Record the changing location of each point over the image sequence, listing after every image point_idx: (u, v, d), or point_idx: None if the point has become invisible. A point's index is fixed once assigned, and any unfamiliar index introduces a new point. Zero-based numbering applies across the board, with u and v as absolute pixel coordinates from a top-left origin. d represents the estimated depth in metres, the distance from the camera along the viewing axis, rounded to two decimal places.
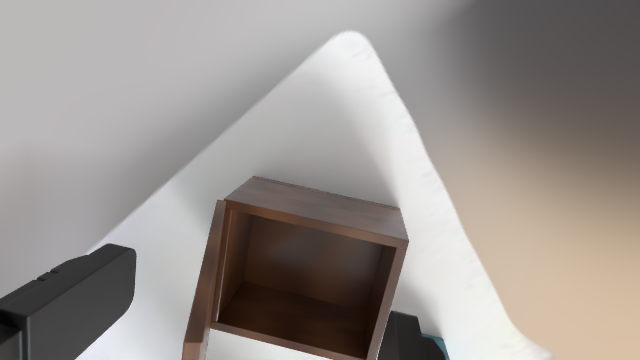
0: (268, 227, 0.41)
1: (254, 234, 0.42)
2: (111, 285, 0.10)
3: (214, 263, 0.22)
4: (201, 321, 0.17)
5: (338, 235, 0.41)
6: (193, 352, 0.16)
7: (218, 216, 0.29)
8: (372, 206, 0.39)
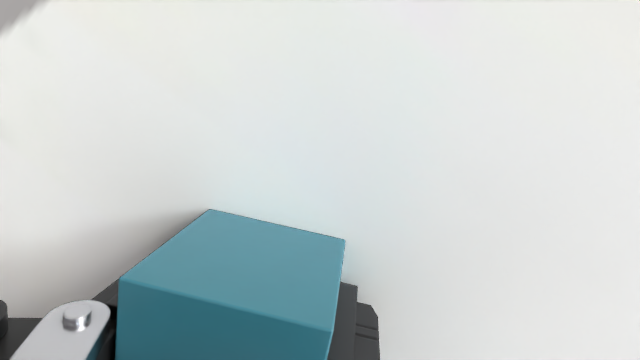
0: None
1: None
2: None
3: None
4: None
5: None
6: None
7: None
8: None
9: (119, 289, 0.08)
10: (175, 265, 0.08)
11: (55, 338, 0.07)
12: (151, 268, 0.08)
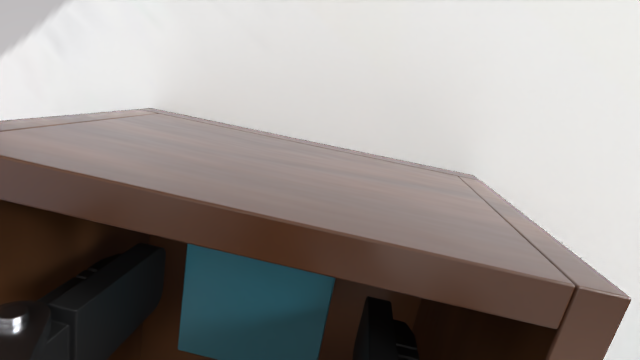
0: None
1: None
2: (144, 282, 0.11)
3: None
4: None
5: None
6: None
7: None
8: None
9: None
10: None
11: None
12: None
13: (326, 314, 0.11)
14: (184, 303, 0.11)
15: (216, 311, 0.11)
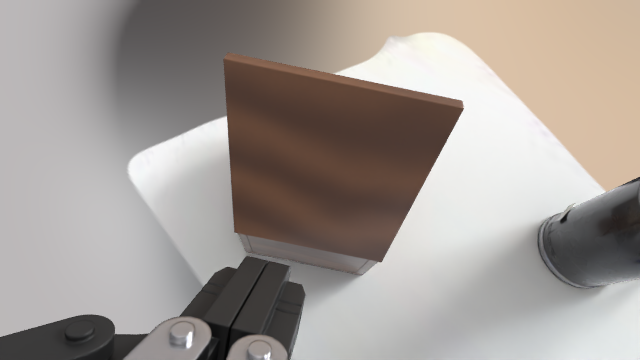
0: None
1: None
2: None
3: None
4: None
5: None
6: (235, 56, 0.21)
7: None
8: None
9: None
10: None
11: (169, 357, 0.07)
12: None
13: None
14: None
15: None
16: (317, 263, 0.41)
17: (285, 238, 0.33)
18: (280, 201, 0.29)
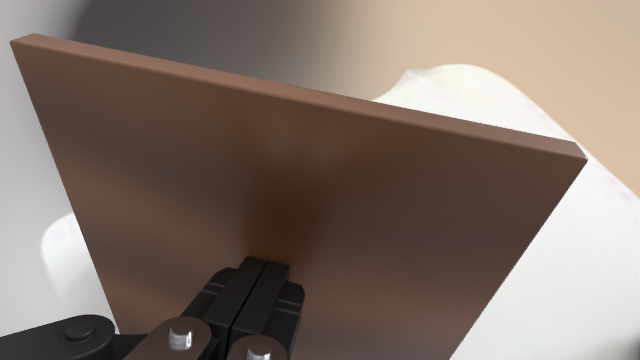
0: None
1: None
2: None
3: None
4: None
5: None
6: (42, 39, 0.09)
7: None
8: None
9: None
10: None
11: (169, 357, 0.07)
12: None
13: None
14: None
15: None
16: None
17: None
18: None
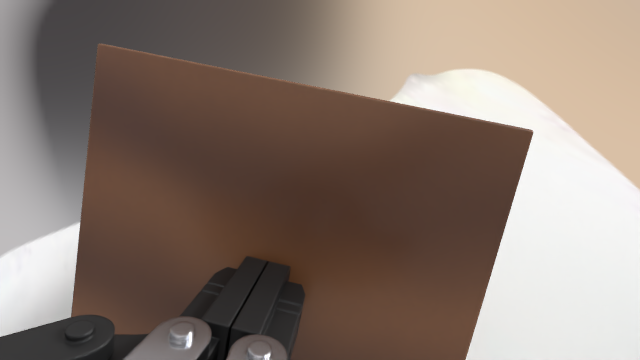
0: None
1: None
2: None
3: None
4: None
5: None
6: None
7: None
8: None
9: None
10: None
11: (169, 357, 0.07)
12: None
13: None
14: None
15: None
16: None
17: None
18: None
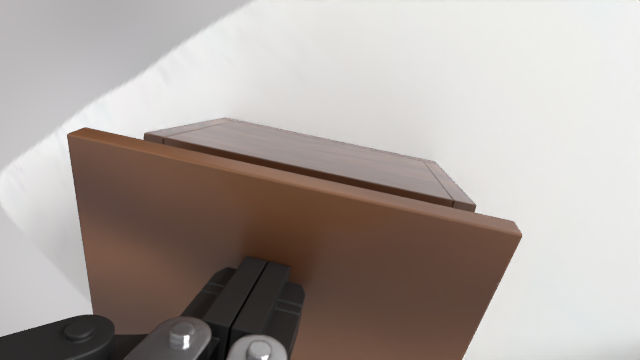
0: None
1: None
2: None
3: None
4: None
5: None
6: (92, 132, 0.11)
7: None
8: None
9: None
10: None
11: (169, 357, 0.07)
12: None
13: None
14: None
15: None
16: None
17: None
18: None
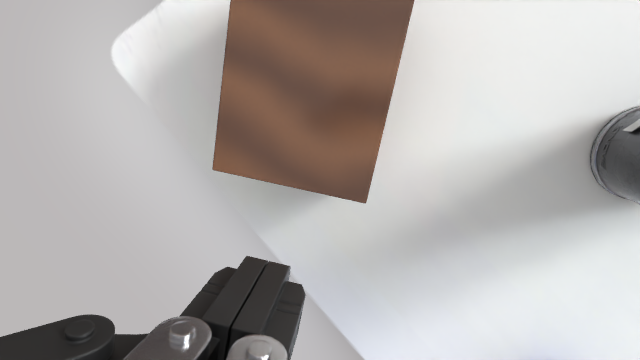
0: None
1: None
2: None
3: None
4: None
5: None
6: None
7: None
8: None
9: None
10: None
11: (169, 357, 0.07)
12: None
13: None
14: None
15: None
16: None
17: (265, 172, 0.31)
18: (265, 111, 0.30)
